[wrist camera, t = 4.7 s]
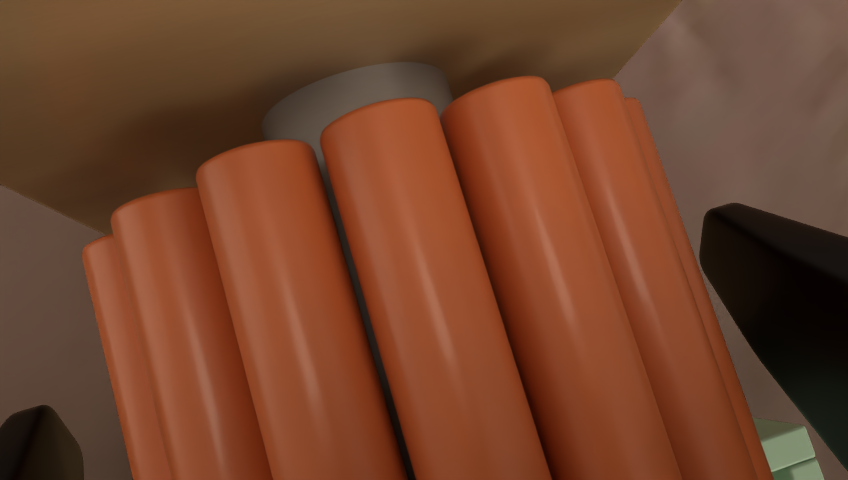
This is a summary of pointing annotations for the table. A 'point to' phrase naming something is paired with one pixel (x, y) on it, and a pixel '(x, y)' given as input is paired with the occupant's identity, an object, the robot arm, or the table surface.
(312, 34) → the ring stand
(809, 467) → the bin
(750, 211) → the robot arm
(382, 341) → the ring
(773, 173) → the table surface
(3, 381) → the table surface
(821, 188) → the table surface
